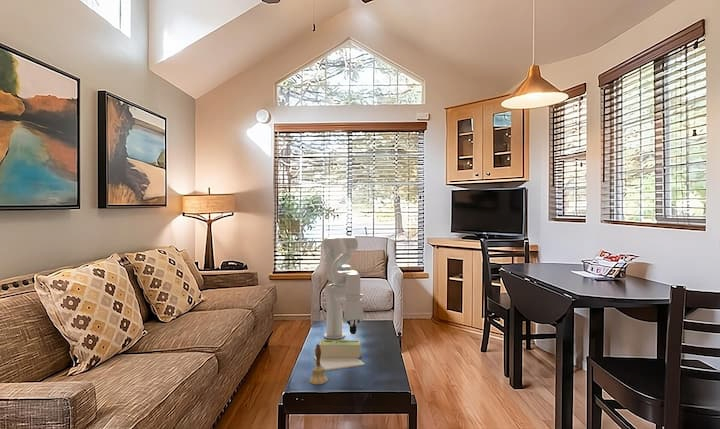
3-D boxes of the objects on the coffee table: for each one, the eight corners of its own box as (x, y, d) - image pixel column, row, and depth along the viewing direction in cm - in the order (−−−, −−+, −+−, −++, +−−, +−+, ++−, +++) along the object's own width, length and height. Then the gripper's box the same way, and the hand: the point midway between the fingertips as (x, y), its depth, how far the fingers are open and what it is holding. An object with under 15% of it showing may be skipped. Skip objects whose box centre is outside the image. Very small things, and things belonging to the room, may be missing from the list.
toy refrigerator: (359, 343, 216) (318, 343, 218) (360, 357, 217) (318, 357, 218) (360, 338, 224) (320, 338, 226) (360, 352, 224) (321, 352, 226)
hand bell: (306, 383, 187) (306, 346, 186) (313, 376, 195) (313, 341, 194) (324, 385, 184) (323, 348, 184) (330, 378, 192) (330, 342, 192)
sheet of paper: (313, 357, 220) (313, 356, 220) (349, 352, 227) (349, 351, 227) (324, 371, 201) (324, 369, 201) (364, 365, 208) (364, 363, 208)
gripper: (363, 294, 223) (363, 330, 223) (336, 297, 218) (336, 333, 218) (369, 297, 216) (369, 333, 216) (341, 299, 211) (341, 337, 211)
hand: (353, 333), depth 217 cm, fingers closed
